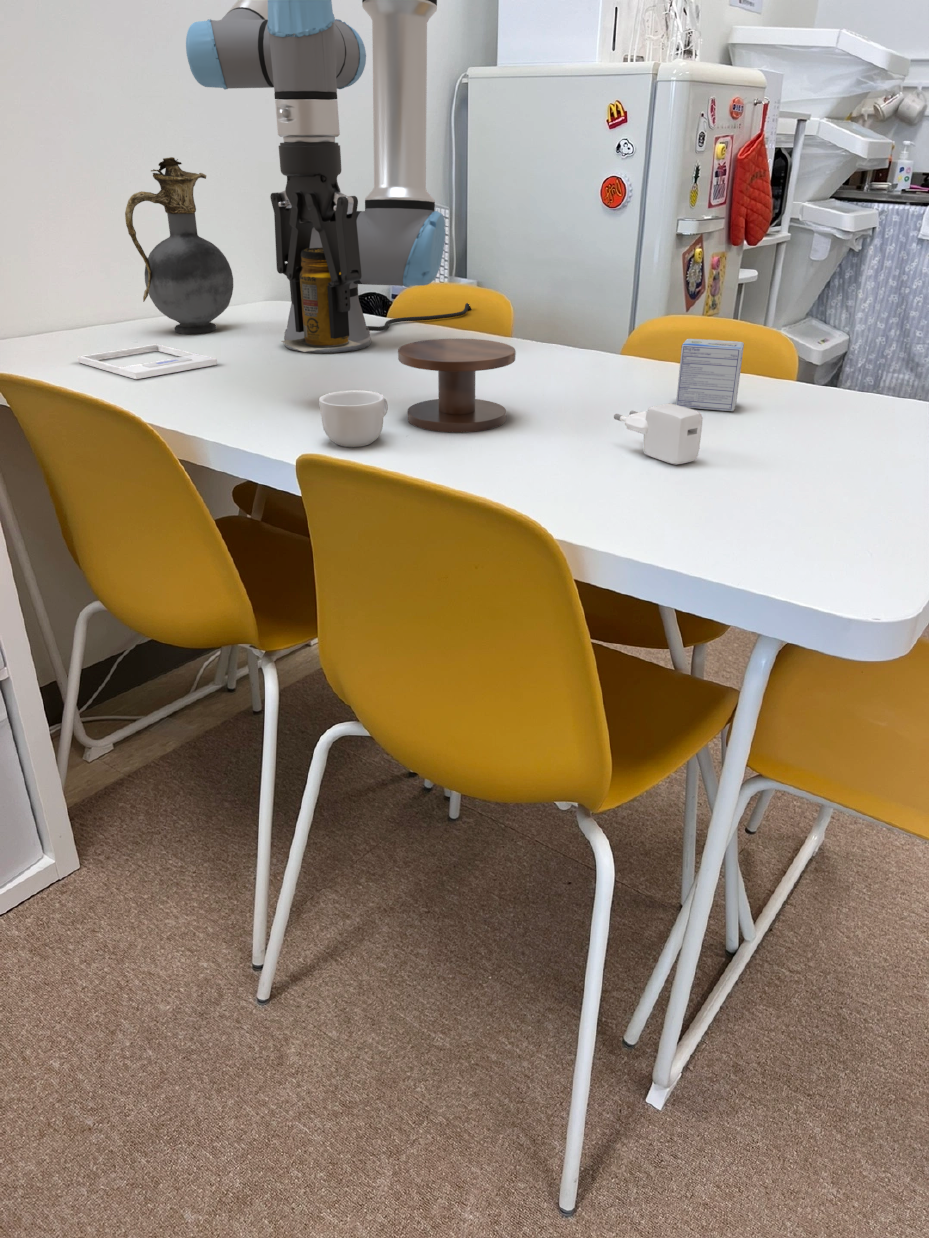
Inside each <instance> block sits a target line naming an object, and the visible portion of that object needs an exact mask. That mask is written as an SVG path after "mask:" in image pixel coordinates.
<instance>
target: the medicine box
mask: <svg viewBox="0 0 929 1238" xmlns="http://www.w3.org/2000/svg"><path fill="white" fill-rule="evenodd" d="M744 346H745V343H744V342H743V341H735V340H720V339H703V338H687V339H686V340H684V342H683V343H682V345H681V351H680V360H679V361H680V362H679V369H678V371H679V372H678V379H677V392H676V399H675V405H679V406H683V407H686V408H690V409H699V410H712V411H721V412H734V411H735V409H736V406H737V401H738V394H739V386H740V379H741V378H740V377H741V372H742V363H743V362H742V361H743V355H744V348H745V347H744Z"/></svg>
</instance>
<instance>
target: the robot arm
mask: <svg viewBox="0 0 929 1238" xmlns="http://www.w3.org/2000/svg"><path fill="white" fill-rule="evenodd" d="M361 3H362V4H361V7H362V9H363V10H364V11H365V13H366V14H367V15H368V17H370V19H371V23H372V24H371V27H372V29H371V30H372V36H371V37H372V38H371V39H372V109H373V111H372V113H373V114H372V116H373V117H372V119H373V121H372V123H373V129H372V130H373V131H372V133H373V136H372V137H373V188H372V190H371V191H370V192H369V193H368V194H367V195H366V197H365V198H364V210H358V205H359V199H358V197H357V196H356V195H347V194H344V193H342V192H341V189H340V186H339V182H338V177H339V175H340V174H341V173H342V156H341V155H342V153H341V152H342V151H341V145H339V142H336V138H337V137H339V136H340V135H341V134H340V133H341V132H340V117H339V106H338V105H339V104H338V90H343V89H345V88H348V87H351V86H352V85H354V84H356V83H357V81H359V79H360V78H361V77H362V75H363V74H364V71H365V68H366V64H367V52H366V51H367V50H366V47H365V43H364V40H363V39H362V37H361V35H360V34H359V33H358V32H357V30H356V29H355V28H353V27H352V26H351V25H349V24H347V22H345V21H342V20H341V19H339V18H338V19H337V18H336V17H335V14H334V11H333V2H332V0H237V1H236V2H235V3H234V4H233V5H232V7H231V8H230V9H229V10H228V11H227V12H226V13H225V15H224V16H223V17H222V18H221V19H218V20H215V19H212V18H210V19H207V20H199V21H194V22H192V23H191V25H190V26H189V27H188V29H187V33H186V37H185V52H186V58H187V63H188V65H189V69H190V72H191V74H192V76H193V78H194V79H195V81H196V82H197V83H198V84H199V85H201V86H203V87H205V88H212V89H213V88H215V89H223V90H228V89H271V88H272V89H273V90H274V95H273V96H274V103H275V116H276V117H275V118H276V128H277V135H278V136H279V137H280V138H282V140H283V142H280V143H279V145H278V156H279V169H280V170H279V171H280V173H281V174H282V175H283V176H285V177H286V184H285V189H284V190H282V191H280V192H279V191H278V192H272V193H270V196H269V199H270V202H271V206H272V210H273V215H274V216H273V217H274V218H273V219H274V237H275V238H274V239H275V262H276V263H275V264H276V271H277V273H278V274H281V275H282V274H283V275H284V276H286V279H287V280H289V290H290V302H291V303H290V308H289V314H288V319H287V324H286V325H287V326H286V329H285V330H284V337H283V339H284V340H297V339H302V338H304V327H303V314H302V301H301V288H300V273H301V271H302V269H303V267H302V266H301V262H302V258H301V252H302V250H304V249H308V248H323V251H324V255H325V258H326V262H327V266H328V270H329V273H330V277H331V281H332V282H330V283H328V285H329V286H327V289H328V304H329V319H330V335H331V338H333V339H336V338H341V337H345V336H349V338H348V340H350V341H353V342H356V343H360V345H356V346H349V347H341V348H331V349H321V350H314V351H306V352H305V353H318V354H319V353H320V354H321V353H323V354H325V353H328V354H329V353H343V352H352V351H358V350H361V349H365V348H367V347H369V346H371V342H372V341H371V339H372V338H371V337H372V336H371V331H372V332H384V331H386V330H388V328H389V326H390V325H391V324H396V323H403V322H421V321H433V320H442V319H450V318H456V317H460V316H464V315H466V314H467V313H468V311H472V306H471V305H470V303H469V302H467V303H465V305H464V309H463V310H461V311H456V312H452V313H444V314H443V313H442V314H435V315H423V316H403V317H396V318H391V319H388V320H386V321H385V323H384V325H380V326H378V325H367V323H366V319H365V315H364V313H363V309H362V306H361V303H360V299H359V285H367V286H368V285H369V286H395V287H397V286H398V287H399V286H400V287H405V288H409V287H414V286H421V287H422V286H423V287H424V286H428V285H430V284H432V283H433V282H434V281H435V279H436V278H437V275H438V273H439V270H440V268H441V265H442V259H443V255H444V249H445V241H446V228H445V227H446V221H445V216H444V215H443V214H442V212H440V211H438V210H436V201H435V199H434V198H433V196H432V195H431V194H430V193H429V191H428V190H427V99H428V98H427V93H428V92H427V91H428V90H427V89H428V87H427V86H428V82H427V80H428V79H427V76H428V71H427V70H428V67H427V66H428V22H429V20H430V19H431V18H432V16H434V14H435V13H436V12H437V10H438V0H361ZM340 272H341V274H340V275H339V273H340ZM468 303H469V304H468ZM469 305H470V306H469ZM284 340H283V341H284ZM284 347H285V348H287V349H289V350H293V351H295V352H296V351H297V352H302V353H303V351H301V350H298V349H294V348H293V347H290V346H288V345H286V344H284Z"/></svg>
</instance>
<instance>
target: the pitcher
mask: <svg viewBox="0 0 929 1238" xmlns="http://www.w3.org/2000/svg"><path fill="white" fill-rule="evenodd" d="M179 165H183V163H182V162H181V161H179V159H178V158H175V157H172V156H170V157H163V158H162V161H160V162H159V163H158V166H159V168H158V169H150V172H152V177H153V179H154V180H155V181H156V182H158V184H159V187H160V190H159V191H158V192H157V193H153V192H150V191H139V192H135V193H133V194H132V195H131V196H130V197H129V199H128V201H127V203H126V207H125V212H124V219H125V225H126V226H125V227H126V228H127V232H128V235H129V236H130V238H131V240H132V242H133V245H134V246H135V248H136V250H137V251H138V253H139V255H140V257H141V258H142V259H143V262H144V265H145V266H144V284H145V290H144V292H143V296H142V297H143V298H142V299H143V303H145V302H146V299H147V298H148V296H149V298H150V300H151V302H152V303H153V305H154V306H155V308H156V309H158V311H159V312H160V313H161V314H163V315H164V316H166V317H167V318H168V319H171V320H173V321H175V322H177V323H178V324H176V325H175V326H174V328H173V329H174V332H175V333H177V334H182V335H199V334H208V333H211V332H214V331H216V330H217V325H216V324H215V323H213V321H214V320H215V319H216V318H218V317H219V316H220V315H222V314H223V313H224V312H225V311H226V309H228V307H229V306H230V303H231V299H232V297H233V293H234V292H233V291H234V275H233V271H232V267H231V265H230V262H229V261H228V258H227V257H226V255H225V253H223V252H222V251H221V249H220V248H219V247H217V246H216V244H214V243H212V242H211V241H209V240H207V239H205V238H203V237H201V236H199V234H198V227H197V219H196V212H197V207H196V204H195V199H194V188H195V186H196V183H197V181H198V180H199V179H207V174H205V173H203V172H199V173H197V172H191V171H190V172H189V171H186V170H183V169H182V168H181V167H180V166H179ZM163 170H165V171H164V173H163V172H162V171H163ZM143 202H151V203H152V204H159V205H161V206H163V207H164V213H165V214H167V222H168V230H169V236H168V237H166V238H165V239H163V240H161V241H160V242H159V243H157V244H156V245H155V246H154V248H152V250H151V251H150V253H149V254H148V257H147V255H146V252H145V251H144V249H143V247H142V246H141V244H140V242H139V240H138V238H137V232H136V228H135V226H134V221H133V220H134V219H133V218H134V211H135V208H136V206H137V205H139V204H141V203H143Z"/></svg>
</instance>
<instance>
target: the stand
mask: <svg viewBox="0 0 929 1238" xmlns="http://www.w3.org/2000/svg"><path fill="white" fill-rule="evenodd" d="M516 351H517V350H516V348H515V347H514V346H512V345H510V344H507V343H505V342H501V341H494V340H489V339H479V338H435V339H425V340H418V341H413V342H409V343H406V344H404V345H401V346H400V347H399V348H398V349H397V360H398V362H399V363H400V364H402V365H405V366H406V367H409V368H410V367H411V368H415V369H419V370H425V371H435V372H437V373H438V377H437V381H438V383H437V385H438V391H437V392H438V398H434V399H428V400H423V401H420V402H416V403H414V404H412V405H410V406H409V407H408V408H407V412H406V413H407V421H408V423H409V424H410V425H412V426H414V427H416V428H419V429H421V430H426V431H431V432H432V431H433V432H439V433H456V434H457V433H476V432H483V431H488V430H492V429H495V428H498V427H500V426H503V425H504V424H505V423H506V421H507V408H506V407H505V406H504V405H501V404H500V403H497V402H495V401H490V400H486V399H485V400H484V399H478V398H476V372H479V371H488V370H495V369H500V368H503V367H504V368H505V367H507V366H509V365H512V364H513V363H515V361H516V355H517V354H516V353H517V352H516Z"/></svg>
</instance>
